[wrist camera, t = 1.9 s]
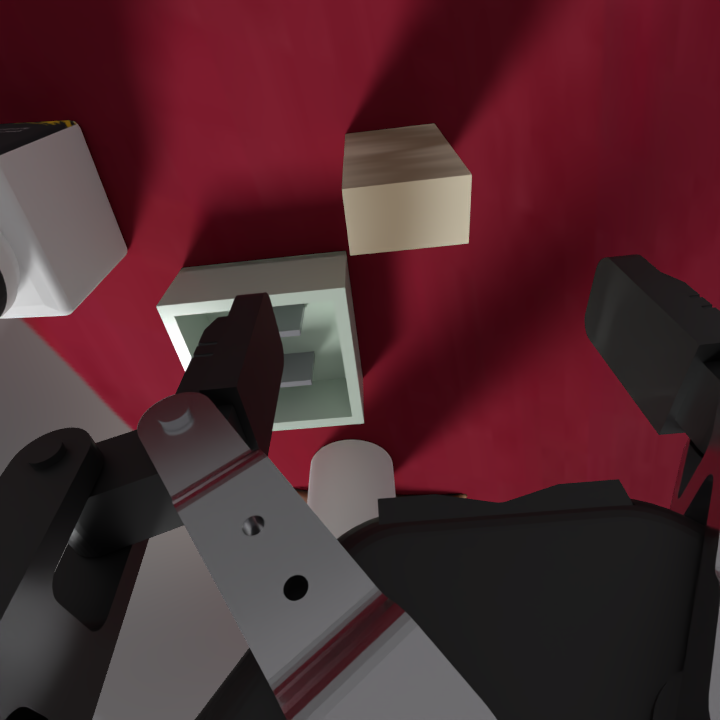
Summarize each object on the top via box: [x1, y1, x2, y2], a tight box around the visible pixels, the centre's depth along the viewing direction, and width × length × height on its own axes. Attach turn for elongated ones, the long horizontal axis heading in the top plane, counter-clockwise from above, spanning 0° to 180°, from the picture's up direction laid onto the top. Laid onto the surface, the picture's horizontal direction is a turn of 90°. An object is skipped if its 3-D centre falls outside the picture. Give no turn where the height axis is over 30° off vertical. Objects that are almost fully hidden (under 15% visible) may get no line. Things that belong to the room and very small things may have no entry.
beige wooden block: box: [342, 123, 472, 256], centre depth 20 cm, size 4×2×9 cm, turn 96°
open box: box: [156, 251, 364, 431], centre depth 28 cm, size 10×10×4 cm
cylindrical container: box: [307, 440, 396, 539], centre depth 29 cm, size 7×7×25 cm
